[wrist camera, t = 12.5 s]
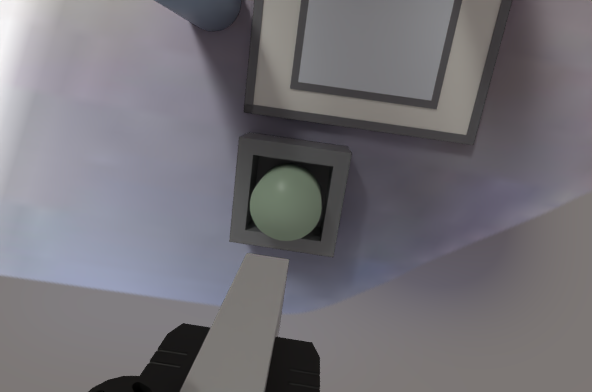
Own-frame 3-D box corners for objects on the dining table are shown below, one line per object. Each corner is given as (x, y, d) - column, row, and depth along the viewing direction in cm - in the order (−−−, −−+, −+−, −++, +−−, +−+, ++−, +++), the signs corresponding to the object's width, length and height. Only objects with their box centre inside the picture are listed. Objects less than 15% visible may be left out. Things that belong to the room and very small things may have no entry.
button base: (249, 132, 26) (239, 137, 23) (347, 146, 26) (351, 153, 23) (239, 224, 28) (229, 241, 25) (331, 238, 28) (333, 257, 24)
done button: (260, 159, 24) (253, 166, 21) (325, 168, 24) (326, 177, 21) (254, 220, 25) (246, 235, 22) (315, 229, 25) (315, 245, 22)
